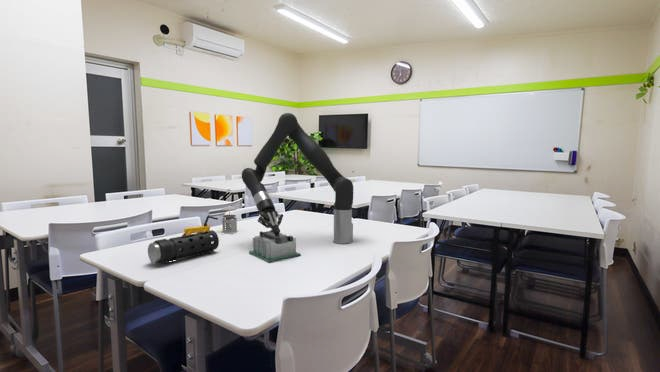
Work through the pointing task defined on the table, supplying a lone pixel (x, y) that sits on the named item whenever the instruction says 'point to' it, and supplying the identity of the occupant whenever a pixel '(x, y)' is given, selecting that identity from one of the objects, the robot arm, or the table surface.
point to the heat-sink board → (273, 248)
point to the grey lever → (277, 236)
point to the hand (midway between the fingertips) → (277, 233)
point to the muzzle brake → (182, 246)
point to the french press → (229, 220)
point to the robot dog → (198, 228)
